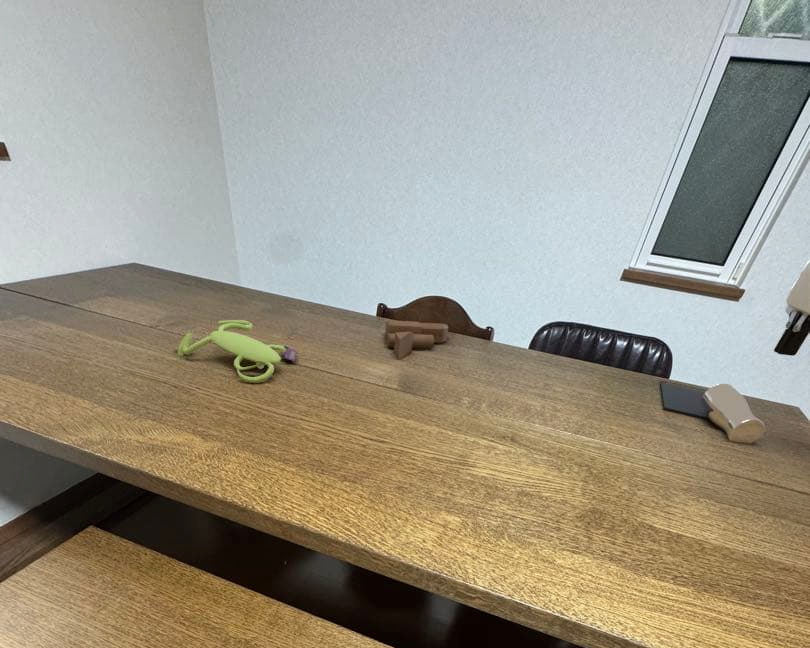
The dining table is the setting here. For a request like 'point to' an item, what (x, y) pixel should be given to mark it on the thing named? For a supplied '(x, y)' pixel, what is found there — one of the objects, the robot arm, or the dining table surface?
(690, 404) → the mat
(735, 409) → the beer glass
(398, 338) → the wooden block set
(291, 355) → the figurine
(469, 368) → the dining table surface
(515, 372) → the dining table surface
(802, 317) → the robot arm
